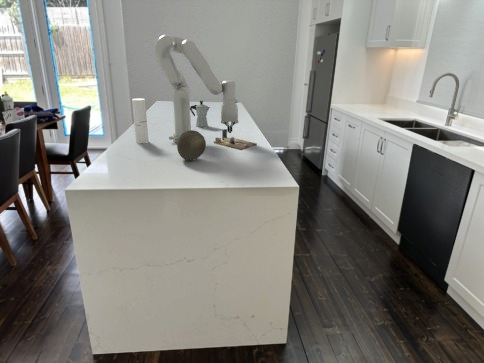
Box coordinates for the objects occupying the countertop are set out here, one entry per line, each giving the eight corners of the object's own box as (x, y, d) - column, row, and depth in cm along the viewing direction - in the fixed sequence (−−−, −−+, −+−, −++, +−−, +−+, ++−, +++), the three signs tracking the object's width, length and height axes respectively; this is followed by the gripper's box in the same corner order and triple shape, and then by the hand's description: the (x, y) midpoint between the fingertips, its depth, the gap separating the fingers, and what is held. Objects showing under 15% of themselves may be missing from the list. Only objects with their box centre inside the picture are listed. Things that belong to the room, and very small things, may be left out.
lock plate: (240, 149, 191) (240, 144, 190) (213, 142, 204) (213, 137, 202) (256, 144, 202) (256, 139, 201) (230, 138, 214) (230, 133, 213)
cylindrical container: (149, 142, 201) (145, 100, 192) (136, 143, 198) (132, 100, 189) (147, 140, 207) (144, 98, 198) (135, 140, 204) (131, 98, 195)
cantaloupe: (179, 165, 164) (177, 135, 159) (176, 156, 177) (175, 128, 172) (208, 163, 168) (207, 133, 163) (203, 155, 181) (202, 127, 175)
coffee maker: (211, 125, 249) (211, 100, 243) (209, 127, 241) (209, 102, 234) (191, 124, 250) (190, 99, 244) (188, 127, 242) (187, 101, 236)
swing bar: (235, 142, 200) (235, 132, 198) (231, 143, 199) (231, 133, 197) (225, 138, 209) (225, 128, 207) (221, 139, 208) (221, 129, 206)
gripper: (241, 101, 204) (241, 131, 211) (216, 101, 204) (217, 131, 211) (242, 103, 197) (242, 134, 204) (216, 103, 197) (217, 134, 204)
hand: (229, 132), depth 207 cm, fingers closed
